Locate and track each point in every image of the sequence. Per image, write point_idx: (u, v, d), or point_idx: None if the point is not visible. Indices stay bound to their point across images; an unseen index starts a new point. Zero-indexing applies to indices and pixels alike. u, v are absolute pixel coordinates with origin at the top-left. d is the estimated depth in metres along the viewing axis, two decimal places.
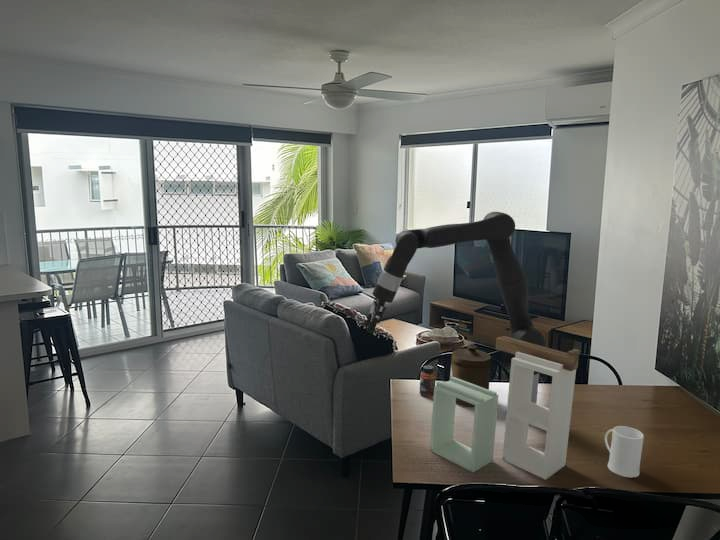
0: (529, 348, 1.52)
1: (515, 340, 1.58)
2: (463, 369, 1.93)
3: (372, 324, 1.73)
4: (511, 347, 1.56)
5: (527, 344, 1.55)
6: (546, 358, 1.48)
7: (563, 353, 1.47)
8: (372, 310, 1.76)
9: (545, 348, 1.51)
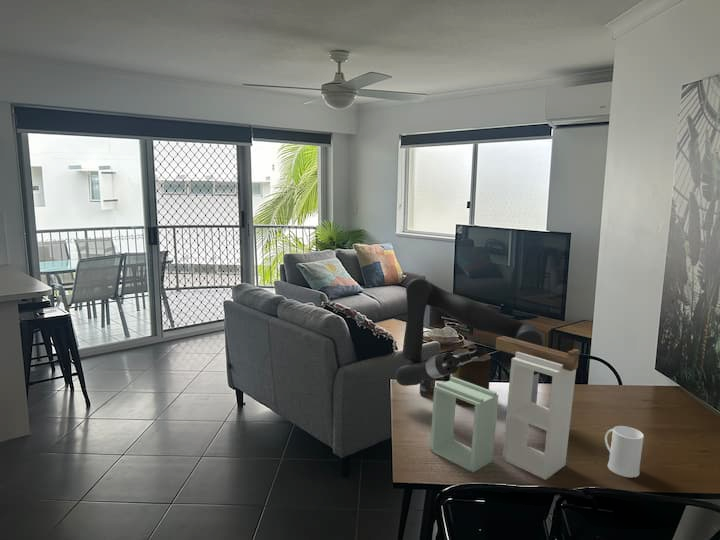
0: (529, 348, 1.52)
1: (515, 340, 1.58)
2: (463, 369, 1.93)
3: (461, 360, 1.66)
4: (511, 347, 1.56)
5: (527, 344, 1.55)
6: (546, 358, 1.48)
7: (563, 353, 1.47)
8: (459, 365, 1.71)
9: (545, 348, 1.51)
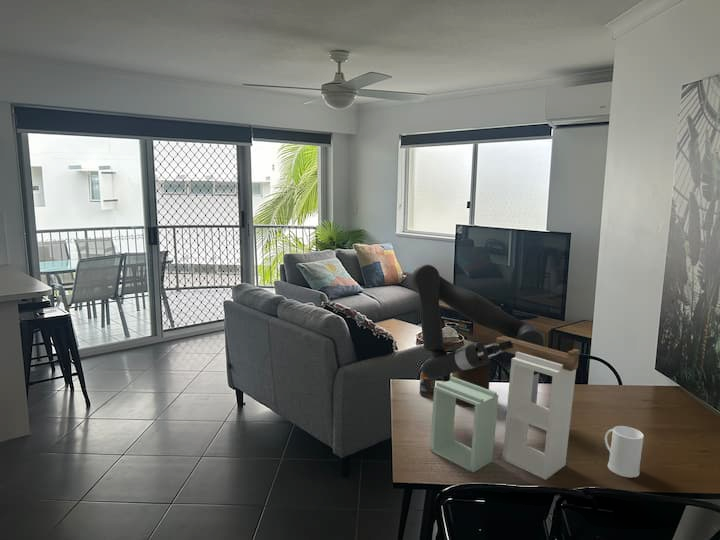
0: (529, 348, 1.52)
1: (515, 340, 1.58)
2: None
3: (501, 348, 1.57)
4: None
5: (527, 344, 1.55)
6: (546, 358, 1.48)
7: (563, 353, 1.47)
8: (494, 354, 1.62)
9: (545, 348, 1.51)
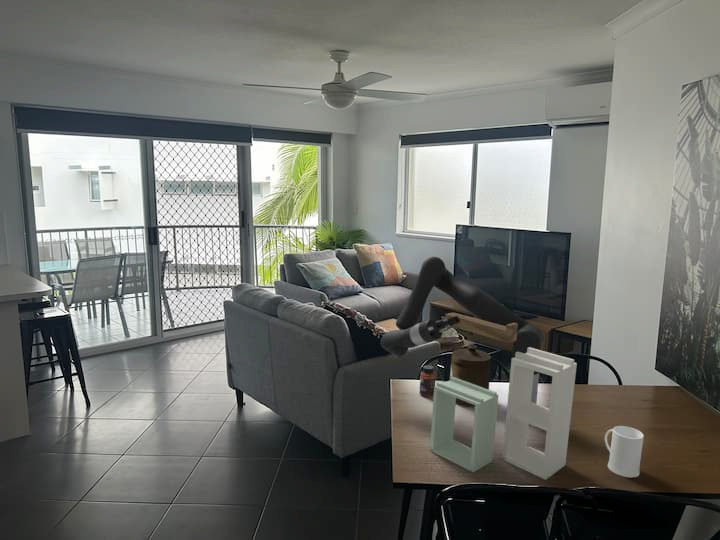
0: (473, 322, 1.63)
1: (462, 316, 1.69)
2: (463, 369, 1.93)
3: (449, 323, 1.68)
4: None
5: (473, 319, 1.65)
6: (488, 331, 1.59)
7: (503, 327, 1.58)
8: (444, 330, 1.72)
9: (488, 322, 1.62)
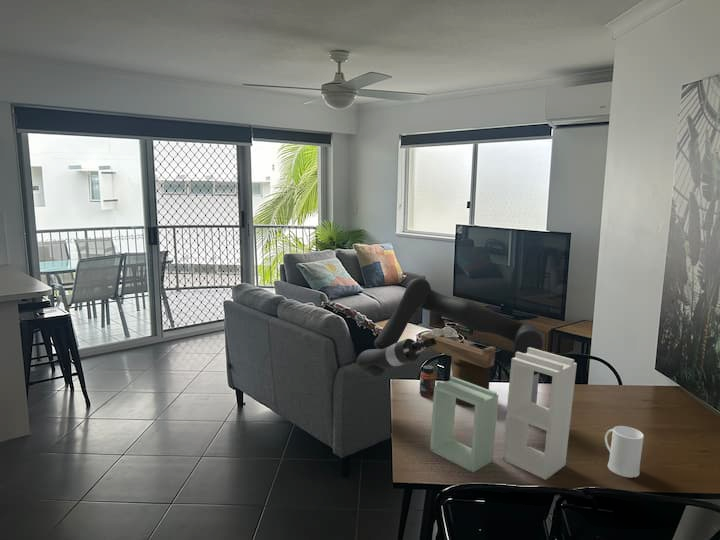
0: (450, 345, 1.56)
1: (439, 338, 1.61)
2: (463, 369, 1.93)
3: (425, 345, 1.61)
4: None
5: (449, 341, 1.58)
6: (464, 355, 1.52)
7: (481, 350, 1.51)
8: (420, 351, 1.65)
9: (465, 345, 1.55)
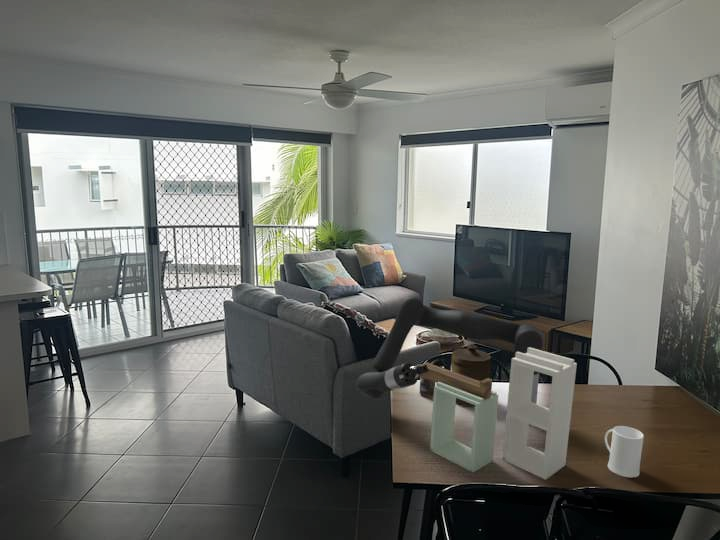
0: (447, 376, 1.57)
1: (437, 368, 1.63)
2: (463, 369, 1.93)
3: (418, 372, 1.62)
4: (432, 374, 1.62)
5: (447, 372, 1.60)
6: (462, 387, 1.54)
7: (478, 382, 1.53)
8: (417, 377, 1.66)
9: (462, 376, 1.57)
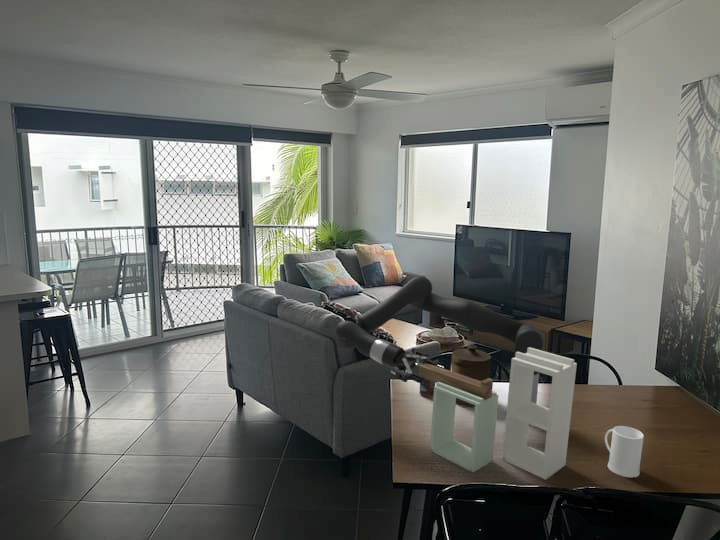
0: (448, 377, 1.57)
1: (436, 368, 1.63)
2: (463, 369, 1.93)
3: (412, 379, 1.61)
4: (432, 375, 1.61)
5: (447, 372, 1.60)
6: (462, 387, 1.54)
7: (478, 382, 1.53)
8: None
9: (463, 377, 1.57)
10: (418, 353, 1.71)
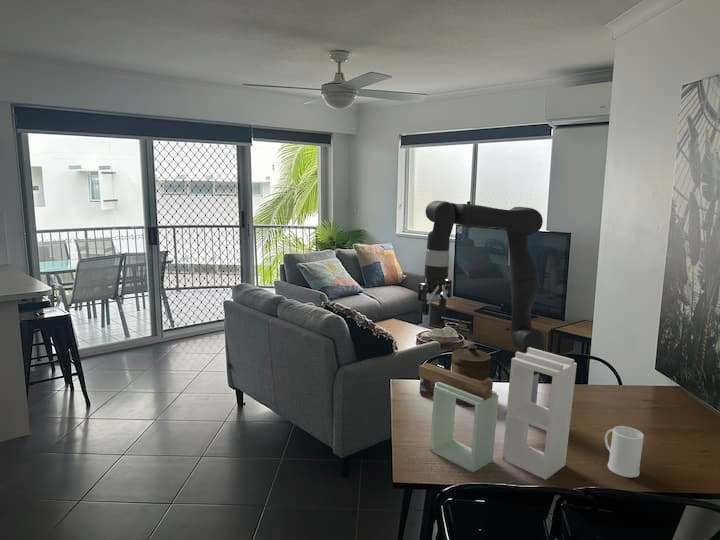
0: (448, 377, 1.57)
1: (436, 368, 1.63)
2: (463, 369, 1.93)
3: (423, 305, 1.65)
4: (432, 375, 1.61)
5: (447, 372, 1.60)
6: (462, 387, 1.54)
7: (478, 382, 1.53)
8: (426, 291, 1.68)
9: (463, 377, 1.57)
10: (448, 288, 1.71)
